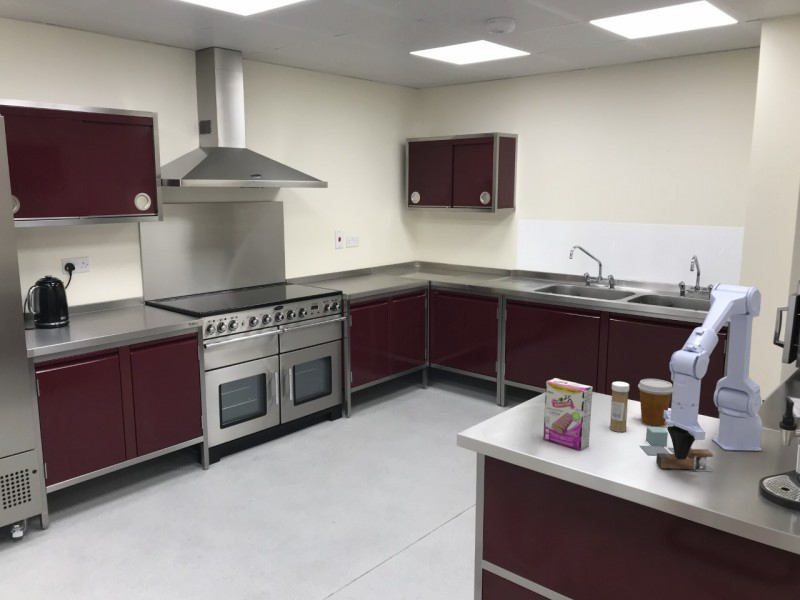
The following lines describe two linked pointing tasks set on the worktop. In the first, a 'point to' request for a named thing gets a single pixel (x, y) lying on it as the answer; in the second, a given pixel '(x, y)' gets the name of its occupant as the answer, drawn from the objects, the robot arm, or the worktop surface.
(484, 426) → the worktop surface
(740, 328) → the robot arm
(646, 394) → the disposable coffee cup
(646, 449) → the seat pad
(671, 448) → the foot pad
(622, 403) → the sprinkles bottle
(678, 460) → the leg
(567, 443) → the candy bar box
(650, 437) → the block
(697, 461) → the flanged metal stem
